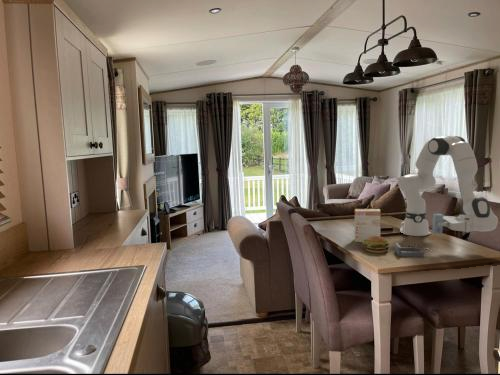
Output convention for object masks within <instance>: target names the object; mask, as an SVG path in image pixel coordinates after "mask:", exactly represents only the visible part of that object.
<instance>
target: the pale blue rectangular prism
mask: <svg viewBox="0 0 500 375" xmlns="http://www.w3.org/2000/svg"><path fill="white" fill-rule="evenodd" d="M443 216H444V214H442V213H432V226H431V227H432V231H431V233H433V234H443V227H444V226H438V225H437V222H443Z"/></svg>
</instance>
